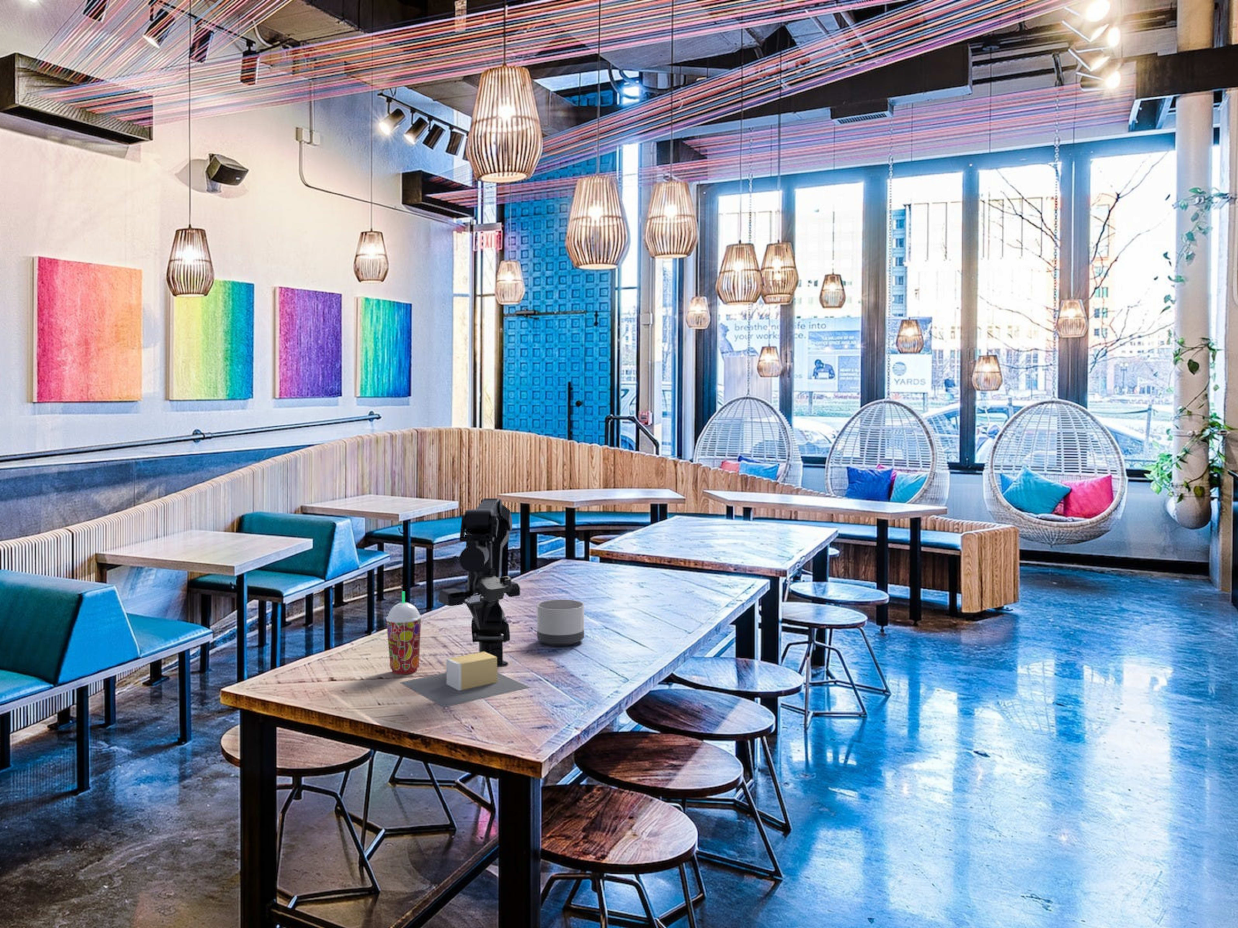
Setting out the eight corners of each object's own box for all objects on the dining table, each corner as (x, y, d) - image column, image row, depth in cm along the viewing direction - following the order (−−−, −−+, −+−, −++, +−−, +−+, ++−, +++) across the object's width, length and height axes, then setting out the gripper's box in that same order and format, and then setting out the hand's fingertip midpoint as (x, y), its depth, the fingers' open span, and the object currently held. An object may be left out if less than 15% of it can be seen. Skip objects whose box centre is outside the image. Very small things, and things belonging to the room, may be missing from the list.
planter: (556, 651, 246) (556, 612, 245) (527, 641, 255) (527, 603, 254) (593, 642, 254) (593, 604, 253) (564, 633, 264) (564, 597, 263)
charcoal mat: (399, 684, 217) (399, 682, 217) (482, 667, 231) (482, 665, 231) (443, 709, 200) (443, 706, 200) (530, 689, 213) (530, 687, 213)
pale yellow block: (446, 658, 215) (484, 651, 221) (446, 683, 216) (484, 676, 222) (458, 664, 210) (496, 656, 217) (459, 690, 211) (497, 682, 217)
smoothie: (384, 669, 229) (383, 589, 227) (418, 665, 232) (417, 586, 230) (390, 679, 221) (388, 596, 219) (425, 675, 224) (424, 593, 223)
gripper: (459, 573, 204) (460, 643, 206) (532, 564, 215) (532, 630, 217) (437, 565, 213) (438, 632, 215) (508, 556, 224) (508, 620, 226)
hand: (480, 628), depth 218 cm, fingers closed
